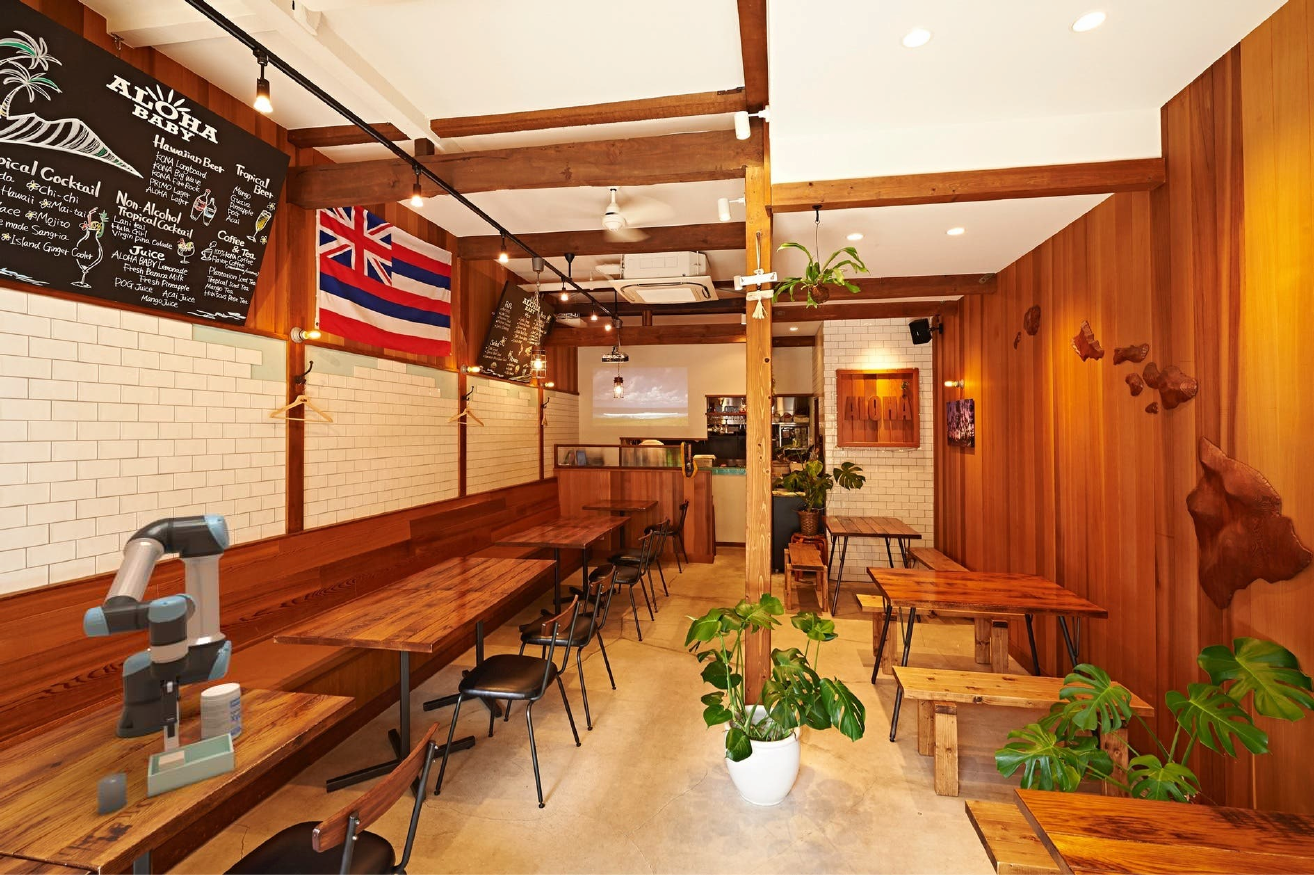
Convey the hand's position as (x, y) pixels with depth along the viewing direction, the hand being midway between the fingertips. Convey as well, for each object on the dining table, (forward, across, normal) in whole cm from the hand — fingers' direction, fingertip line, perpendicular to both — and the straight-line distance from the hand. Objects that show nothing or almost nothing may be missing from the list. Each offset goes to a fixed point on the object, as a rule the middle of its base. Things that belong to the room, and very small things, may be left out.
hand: (172, 737), depth 150 cm
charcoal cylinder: (+10, +7, -11) cm, 17 cm away
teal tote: (+10, +1, +4) cm, 11 cm away
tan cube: (+10, +1, 0) cm, 10 cm away
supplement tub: (+11, -16, +11) cm, 22 cm away
